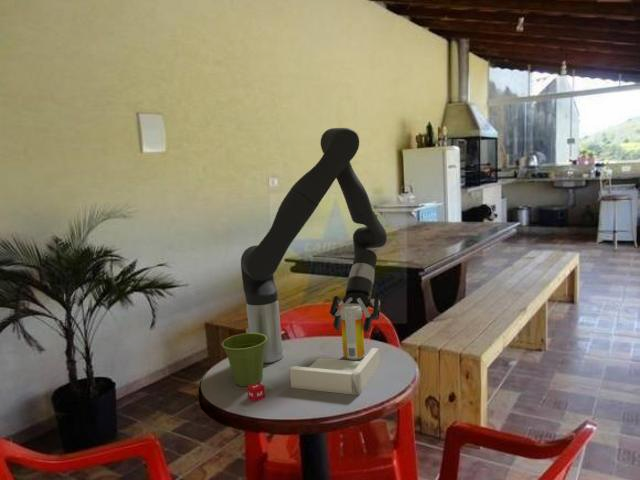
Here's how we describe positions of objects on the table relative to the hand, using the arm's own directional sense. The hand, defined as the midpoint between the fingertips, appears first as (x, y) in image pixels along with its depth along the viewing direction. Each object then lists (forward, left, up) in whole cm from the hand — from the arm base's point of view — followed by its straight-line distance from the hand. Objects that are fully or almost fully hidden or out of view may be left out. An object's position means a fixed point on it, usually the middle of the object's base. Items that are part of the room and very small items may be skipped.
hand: (350, 330), depth 142 cm
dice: (-15, -29, -8) cm, 33 cm away
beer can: (0, +1, -8) cm, 9 cm away
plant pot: (-22, -21, -8) cm, 31 cm away
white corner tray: (0, -13, -8) cm, 15 cm away
